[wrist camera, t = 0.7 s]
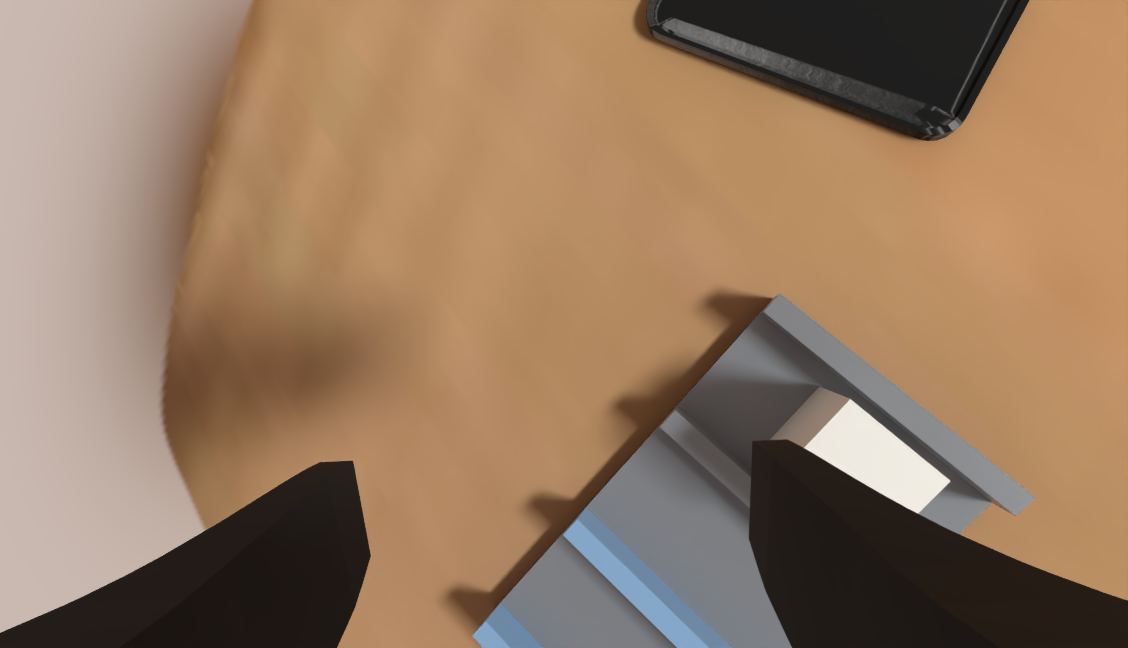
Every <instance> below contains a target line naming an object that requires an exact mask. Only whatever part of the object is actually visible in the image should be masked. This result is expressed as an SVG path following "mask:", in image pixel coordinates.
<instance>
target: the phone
mask: <svg viewBox="0 0 1128 648" xmlns="http://www.w3.org/2000/svg"><path fill="white" fill-rule="evenodd" d="M1028 2H1029V0H650V2H649V4H648V7H647V23H648V27H649V30H650V33H651V34H652V35H653V36H654V37H655V38H656V39H658V40H659V41H661V42H664V43H666V44H669V45H672V46H674V47H677V48H680V49H682V50H685V51H688V52H690V53H693V54H696V55H698V56H701V57H703V58H706V59H709V60H711V61H714V62H717V63H719V64H722V65H725V66H727V67H730V68H733V69H735V70H738V71H740V72H743V73H746V74H748V75H751V76H754V77H756V78H759V79H762V80H764V81H767V82H770V83H772V84H775V85H777V86H780V87H783V88H785V89H788V90H791V91H793V92H796V93H799V94H801V95H804V96H807V97H809V98H812V99H814V100H817V101H820V102H822V103H825V104H828V105H830V106H833V107H836V108H838V109H841V110H844V111H846V112H849V113H851V114H854V115H857V116H859V117H862V118H865V119H867V120H870V121H873V122H875V123H878V124H881V125H883V126H886V127H888V128H891V129H894V130H896V131H899V132H902V133H904V134H907V135H910V136H912V137H915V138H918V139H921V140H926V141H933V140H939V139H942V138H945V137H947V136H948V135H949V134H951V133H952V132H953V131H955V130H956V129H957V128H958V127H959V126H960V125H961V124H962V123H963V121H964V120H965V119H966V117H967V115H968V113H969V111H970V110H971V108H972V106H973V104H974V102H975V100H976V98H977V97H978V95H979V93H980V91H981V89H982V87H983V85H984V84H985V82H986V80H987V78H988V76H989V74H990V72H991V71H992V69H993V67H994V65H995V63H996V61H997V60H998V58H999V56H1000V54H1001V52H1002V50H1003V48H1004V47H1005V45H1006V43H1007V41H1008V39H1009V37H1010V35H1011V34H1012V32H1013V30H1014V28H1015V26H1016V24H1017V22H1018V21H1019V19H1020V17H1021V15H1022V13H1023V11H1024V9H1025V8H1026V6H1027V4H1028Z"/></svg>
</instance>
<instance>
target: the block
mask: <svg viewBox="0 0 1128 648" xmlns="http://www.w3.org/2000/svg"><path fill="white" fill-rule="evenodd" d="M782 439H788V440H790V441H792V442H794V443H796V444H798V445H800V446H801V447H803V448H805V449H807V450H808V451H810V452H812V453H813V454H815V455H817V456H819V457H820V458H822V459H824V460H825V461H827V462H828V463H830V464H832V465H833V466H835V467H837V468H838V469H840V470H842V471H843V472H845V473H847V474H848V475H850V476H852V477H853V478H855V479H857V480H859V481H860V482H862V483H864V484H865V485H867V486H869V487H870V488H872V489H874V490H876V491H877V492H879V493H881V494H883V495H884V496H886V497H888V498H890V499H892V500H893V501H895V502H897V503H899V504H901V505H903V506H904V507H906V508H908V509H910V510H912V511H914V512H916V513H919V512H920V511H921V510H922V509H923V508H924V507H925V506H926V505H927V504H928V503H929V502H930V501H931V500H932V499H933V498H934V497H935V496H936V495H937V494H938V493H939V492H940V491H941V490H942V489H943V488H944V487H945V486H946V485H947V484H948V483H949V482H950V480H949V479H948V478H946V477H945V476H944V475H943V474H941V473H940V472H939V471H938V470H937V469H935V468H934V467H933V466H932V465H930V464H929V463H928V462H927V461H926V460H924V459H923V458H922V457H921V456H919V455H918V454H917V453H916V452H915V451H913V450H912V449H911V448H910V447H908V446H907V445H906V444H905V443H904V442H902V441H901V440H900V439H899V438H897V437H896V436H895V435H894V434H893V433H891V432H890V431H889V430H888V429H886V428H885V427H884V426H883V425H882V424H880V423H879V422H878V421H877V420H875V419H874V418H873V417H872V416H870V415H869V414H868V413H867V412H866V411H864V410H863V409H862V408H861V407H859V406H858V405H857V404H856V403H855V402H853V401H852V400H851V399H849V398H847V397H844V396H842V395H839V394H837V393H834V392H832V391H829V390H827V389H825V388H822V387H819V388H818V389H817V390H816V391H815V392H814V393H813V394H812V395H811V396H810V397H809V398H808V399H807V400H806V402H805V403H804V404H803V405H802V406H801V407H800V408H799V409H798V410H797V411H796V412H795V413H794V414H793V415H792V417H791V418H790V419H789V420H788V421H787V422H786V423H785V424H784V425H783V426H782V427H781V428H780V429H779V430H778V432H777V433H776V434H775V435H774V436H773V437H772V438H771V439H770V440H782Z"/></svg>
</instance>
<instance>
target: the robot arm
mask: <svg viewBox="0 0 1128 648" xmlns="http://www.w3.org/2000/svg"><path fill="white" fill-rule="evenodd" d="M749 541H750V544H751V548H752V551H753V554H754V557H755V561H756V564H757V567H758V570H759V573H760V576H761V579H762V582H763V585H764V588H765V591H766V593H767V595H768V597H769V600H770V602H771V604H772V606H773V608H774V611H775V613H776V615H777V617H778V619H779V621H780V623H781V626H782V628H783V630H784V632H785V634H786V636H787V638H788V641H789V643H790V645H791V647H792V648H1128V601H1127V600H1124V599H1121V598H1118V597H1115V596H1112V595H1109V594H1106V593H1103V592H1100V591H1098V590H1095V589H1092V588H1089V587H1087V586H1084V585H1081V584H1079V583H1076V582H1073V581H1070V580H1068V579H1065V578H1062V577H1059V576H1057V575H1054V574H1051V573H1048V572H1046V571H1043V570H1041V569H1038V568H1036V567H1033V566H1031V565H1028V564H1026V563H1023V562H1021V561H1018V560H1016V559H1014V558H1011V557H1009V556H1007V555H1004V554H1002V553H1000V552H998V551H995V550H993V549H991V548H988V547H986V546H984V545H982V544H979V543H977V542H975V541H973V540H970V539H968V538H966V537H964V536H962V535H960V534H957V533H955V532H953V531H951V530H949V529H947V528H945V527H943V526H941V525H939V524H937V523H935V522H933V521H931V520H929V519H927V518H925V517H924V516H922V515H920V514H918V513H916V512H914V511H912V510H910V509H908V508H906V507H904V506H903V505H901V504H899V503H897V502H895V501H893V500H892V499H890V498H888V497H886V496H884V495H883V494H881V493H879V492H877V491H876V490H874V489H872V488H870V487H869V486H867V485H865V484H864V483H862V482H860V481H859V480H857V479H855V478H853V477H852V476H850V475H848V474H847V473H845V472H843V471H842V470H840V469H838V468H837V467H835V466H833V465H832V464H830V463H828V462H827V461H825V460H824V459H822V458H820V457H819V456H817V455H815V454H813V453H812V452H810V451H808V450H807V449H805V448H803V447H801V446H800V445H798V444H796V443H794V442H792V441H790V440H788V439H782V440H761V441H752V465H751V491H750V517H749ZM370 556H371V555H370V549H369V544H368V539H367V533H366V528H365V523H364V517H363V512H362V507H361V501H360V496H359V491H358V485H357V480H356V475H355V469H354V464H353V461H338V462H320V463H318V464H316V465H313V466H311V467H309V468H308V469H306V470H304V471H302V472H300V473H299V474H297V475H295V476H294V477H292V478H290V479H289V480H287V481H285V482H284V483H282V484H280V485H279V486H277V487H276V488H274V489H272V490H271V491H269V492H268V493H266V494H264V495H263V496H261V497H260V498H258V499H256V500H255V501H253V502H252V503H250V504H248V505H247V506H245V507H244V508H242V509H240V510H239V511H237V512H236V513H234V514H232V515H231V516H229V517H228V518H226V519H224V520H223V521H221V522H220V523H218V524H216V525H214V526H213V527H211V528H209V529H208V530H206V531H204V532H202V533H201V534H199V535H197V536H196V537H194V538H192V539H190V540H189V541H187V542H185V543H184V544H182V545H180V546H178V547H177V548H175V549H173V550H172V551H170V552H168V553H166V554H165V555H163V556H161V557H160V558H158V559H156V560H154V561H152V562H150V563H148V564H147V565H145V566H143V567H141V568H139V569H137V570H135V571H134V572H131V573H130V574H128V575H126V576H124V577H122V578H120V579H118V580H116V581H114V582H112V583H110V584H108V585H106V586H104V587H102V588H99V589H98V590H96V591H93V592H91V593H89V594H87V595H85V596H83V597H81V598H79V599H77V600H75V601H73V602H70V603H68V604H66V605H64V606H62V607H59V608H57V609H54V610H52V611H50V612H48V613H45V614H43V615H41V616H38V617H36V618H34V619H31V620H29V621H27V622H25V623H22V624H20V625H18V626H15V627H13V628H11V629H8V630H6V631H4V632H1V633H0V648H337V646H338V644H339V642H340V640H341V638H342V635H343V633H344V631H345V629H346V627H347V624H348V622H349V620H350V618H351V615H352V613H353V611H354V608H355V606H356V602H357V599H358V596H359V593H360V590H361V587H362V584H363V580H364V577H365V574H366V570H367V567H368V563H369V560H370Z"/></svg>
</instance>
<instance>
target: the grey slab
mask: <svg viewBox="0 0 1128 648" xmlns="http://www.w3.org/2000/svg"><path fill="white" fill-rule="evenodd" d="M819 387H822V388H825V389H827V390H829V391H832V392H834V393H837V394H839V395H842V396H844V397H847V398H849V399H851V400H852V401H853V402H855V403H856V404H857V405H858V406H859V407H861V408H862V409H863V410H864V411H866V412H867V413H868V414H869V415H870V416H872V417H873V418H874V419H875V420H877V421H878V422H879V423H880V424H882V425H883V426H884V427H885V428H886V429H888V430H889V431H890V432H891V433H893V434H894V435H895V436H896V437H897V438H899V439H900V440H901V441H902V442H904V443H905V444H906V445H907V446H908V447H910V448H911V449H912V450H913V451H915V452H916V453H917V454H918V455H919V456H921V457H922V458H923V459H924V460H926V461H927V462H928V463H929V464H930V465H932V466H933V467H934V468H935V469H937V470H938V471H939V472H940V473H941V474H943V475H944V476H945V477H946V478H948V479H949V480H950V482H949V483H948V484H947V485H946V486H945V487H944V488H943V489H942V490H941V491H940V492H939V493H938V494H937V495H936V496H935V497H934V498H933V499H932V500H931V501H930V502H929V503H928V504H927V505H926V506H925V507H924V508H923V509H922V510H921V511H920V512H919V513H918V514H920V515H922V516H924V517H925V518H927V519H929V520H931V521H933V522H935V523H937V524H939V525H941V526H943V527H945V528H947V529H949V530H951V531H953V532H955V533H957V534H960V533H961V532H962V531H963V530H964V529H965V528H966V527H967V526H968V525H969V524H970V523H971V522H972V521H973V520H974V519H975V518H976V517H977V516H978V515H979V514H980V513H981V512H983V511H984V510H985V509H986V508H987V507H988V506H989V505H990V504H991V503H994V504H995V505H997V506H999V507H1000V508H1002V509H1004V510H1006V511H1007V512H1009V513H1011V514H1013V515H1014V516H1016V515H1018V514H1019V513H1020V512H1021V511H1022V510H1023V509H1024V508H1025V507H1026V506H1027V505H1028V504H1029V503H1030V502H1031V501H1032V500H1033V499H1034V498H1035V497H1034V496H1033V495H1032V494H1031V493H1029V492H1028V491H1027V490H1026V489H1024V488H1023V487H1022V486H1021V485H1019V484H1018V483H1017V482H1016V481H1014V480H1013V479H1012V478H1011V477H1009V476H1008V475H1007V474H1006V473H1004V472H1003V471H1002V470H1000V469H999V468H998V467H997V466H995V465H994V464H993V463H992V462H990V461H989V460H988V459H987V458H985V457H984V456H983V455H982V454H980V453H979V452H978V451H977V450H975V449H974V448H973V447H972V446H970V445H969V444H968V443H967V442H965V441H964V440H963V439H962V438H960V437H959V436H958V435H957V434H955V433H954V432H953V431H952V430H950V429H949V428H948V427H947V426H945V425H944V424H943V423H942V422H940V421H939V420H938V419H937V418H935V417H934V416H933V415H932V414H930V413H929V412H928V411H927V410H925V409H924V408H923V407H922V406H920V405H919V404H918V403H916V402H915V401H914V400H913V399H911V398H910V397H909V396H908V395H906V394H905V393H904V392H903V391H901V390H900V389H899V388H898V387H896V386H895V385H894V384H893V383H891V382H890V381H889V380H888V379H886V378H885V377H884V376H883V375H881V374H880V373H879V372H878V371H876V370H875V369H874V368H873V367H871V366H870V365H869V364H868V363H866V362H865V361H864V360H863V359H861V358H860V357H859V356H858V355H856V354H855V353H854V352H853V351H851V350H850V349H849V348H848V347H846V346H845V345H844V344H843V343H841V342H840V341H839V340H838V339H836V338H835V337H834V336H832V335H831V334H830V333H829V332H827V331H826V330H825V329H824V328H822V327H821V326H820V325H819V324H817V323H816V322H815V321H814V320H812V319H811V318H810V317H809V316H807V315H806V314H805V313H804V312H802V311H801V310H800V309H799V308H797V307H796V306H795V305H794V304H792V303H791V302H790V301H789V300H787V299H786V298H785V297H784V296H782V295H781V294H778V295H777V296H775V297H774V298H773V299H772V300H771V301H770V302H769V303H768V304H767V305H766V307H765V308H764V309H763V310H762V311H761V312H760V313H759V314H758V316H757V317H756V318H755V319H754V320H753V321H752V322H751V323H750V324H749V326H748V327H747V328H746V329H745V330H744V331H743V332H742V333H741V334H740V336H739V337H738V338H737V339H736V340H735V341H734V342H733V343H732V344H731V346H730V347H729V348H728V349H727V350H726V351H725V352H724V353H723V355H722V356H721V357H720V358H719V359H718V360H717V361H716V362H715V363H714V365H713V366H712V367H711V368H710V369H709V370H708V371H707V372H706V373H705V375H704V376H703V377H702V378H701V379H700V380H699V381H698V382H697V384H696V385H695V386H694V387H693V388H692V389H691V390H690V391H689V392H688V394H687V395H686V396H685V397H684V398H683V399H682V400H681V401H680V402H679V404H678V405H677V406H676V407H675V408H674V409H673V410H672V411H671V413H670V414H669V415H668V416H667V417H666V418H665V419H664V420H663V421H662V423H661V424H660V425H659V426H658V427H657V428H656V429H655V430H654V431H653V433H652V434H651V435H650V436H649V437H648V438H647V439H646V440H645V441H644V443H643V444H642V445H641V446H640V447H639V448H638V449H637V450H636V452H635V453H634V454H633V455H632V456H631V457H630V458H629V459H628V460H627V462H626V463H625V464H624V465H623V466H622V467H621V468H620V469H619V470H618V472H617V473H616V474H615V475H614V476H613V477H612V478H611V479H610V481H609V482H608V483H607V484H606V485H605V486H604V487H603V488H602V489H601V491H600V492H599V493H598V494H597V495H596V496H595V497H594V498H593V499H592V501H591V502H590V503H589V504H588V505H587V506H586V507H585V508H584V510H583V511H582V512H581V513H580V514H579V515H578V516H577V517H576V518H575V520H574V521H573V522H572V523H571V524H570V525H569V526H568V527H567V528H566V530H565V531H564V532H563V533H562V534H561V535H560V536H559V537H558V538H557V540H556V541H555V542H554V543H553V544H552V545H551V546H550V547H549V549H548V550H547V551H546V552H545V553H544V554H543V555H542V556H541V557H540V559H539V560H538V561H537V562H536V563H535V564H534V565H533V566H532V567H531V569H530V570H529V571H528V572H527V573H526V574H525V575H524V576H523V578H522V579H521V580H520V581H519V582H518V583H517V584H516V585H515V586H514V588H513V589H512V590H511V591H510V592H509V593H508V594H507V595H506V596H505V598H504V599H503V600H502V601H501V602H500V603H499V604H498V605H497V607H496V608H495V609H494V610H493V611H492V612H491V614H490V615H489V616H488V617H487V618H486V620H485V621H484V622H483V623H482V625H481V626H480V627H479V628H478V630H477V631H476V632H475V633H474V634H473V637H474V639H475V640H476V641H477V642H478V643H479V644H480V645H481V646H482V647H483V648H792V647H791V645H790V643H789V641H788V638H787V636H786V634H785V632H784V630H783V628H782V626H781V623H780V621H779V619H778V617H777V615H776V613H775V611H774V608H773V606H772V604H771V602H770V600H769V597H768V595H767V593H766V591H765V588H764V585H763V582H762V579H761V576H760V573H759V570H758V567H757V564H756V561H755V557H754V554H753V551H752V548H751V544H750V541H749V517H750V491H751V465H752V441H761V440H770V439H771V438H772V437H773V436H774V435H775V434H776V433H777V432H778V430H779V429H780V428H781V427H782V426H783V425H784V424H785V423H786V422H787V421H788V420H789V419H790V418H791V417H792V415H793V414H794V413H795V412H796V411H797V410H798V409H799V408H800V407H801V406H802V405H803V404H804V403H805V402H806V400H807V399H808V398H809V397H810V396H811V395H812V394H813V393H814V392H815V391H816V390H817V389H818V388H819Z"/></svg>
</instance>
